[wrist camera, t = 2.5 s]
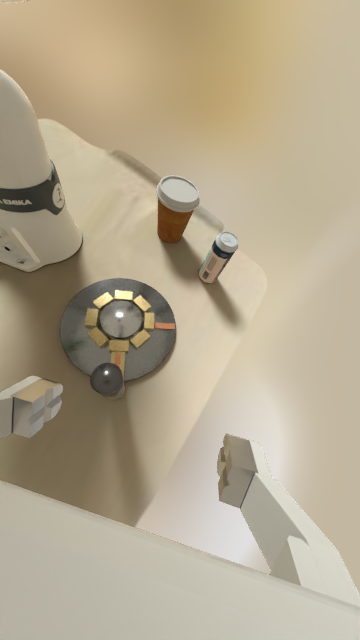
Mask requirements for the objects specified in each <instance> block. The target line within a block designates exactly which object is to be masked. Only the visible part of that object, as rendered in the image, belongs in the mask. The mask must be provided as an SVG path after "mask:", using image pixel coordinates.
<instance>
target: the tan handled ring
mask: <svg viewBox="0 0 360 640" xmlns="http://www.w3.org/2000/svg"><path fill="white" fill-rule="evenodd" d="M132 297H133V292H130V291H119V290H115V301H127V302H130V303H132ZM112 302H114V298H113V297H112V296H111V295H110V294H109V293H108V292H107V293H105V294H103V295H102V296H100V297H99V298H97V299H96V300H94V301H93V305H94V307H95V308H96V309H89V308H88V309H87V315H86V320H85V327H86V328H87V329H92V330H91V331H89V332H88V333H87V334H88V336H89V337H90V338H91V339H92V340H93V341H94V343H95V344H96V345H97V346H98V347H99V348H100V349H102V348H104V347H105V346H106V345H107V344H109V353H112V354H111V363H103V364H101V365H99V366H97V367H96V368H95V369H94V371H93V372H92V374H91V378H90V383H91V386H92V388H93V389H94V390H95V391H96V392H98V393H100V394H102V395H104V396H106V397H108V398H109V399H112V400H117V399H120V398H121V397H122V396H123V395H124V393H125V385H124V380H123V379H124V366H125V353H127V354H128V352H129V341H123V340H110V341H109V339H108V338H107V337H106V336H105V335H104V334H103V333H102V332H101V331H100V330H99V329H98V323H99V316H100V313H101V312H102V311H103V309H104V308H105V307H106V306H107V305H108V304H110V303H112ZM133 304H134V305H135V306H136V307H137V308H138V309H139V310H140V312H141V313H142V314H143V315H144V329H143V330H142V331H141V332H140V333H138V334H137V335H136V336H135V337H134V338H132V339H131V340H130V344H131V345H132V346H133V347H134V348H135V349H136V350H138V349H139V348H140V347H141V346H142V345H144V344H145V343H146V342H147V341H148V340H149V339H150V337H151V336H150V335H149V334H148V333H147V332H153V331H154V313H148V312H149V311H150V310H151V305H150V304H149V303H148V302H147V301H146V300H145V299H144V298H143V297H142V296H141V295H139V296H138V297H137V298H135V299H134V300H133Z"/></svg>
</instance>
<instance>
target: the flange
mask: <svg viewBox="0 0 360 640" xmlns="http://www.w3.org/2000/svg"><path fill="white" fill-rule="evenodd" d="M115 290H119V291H130V292H133V297H132V303H130V302H127V301H115ZM107 292H108V293H109V294H110V295H111V296H112V297H113V298H114V302H112V303H110V304H108V305H107V306H106V307H105V308H104V309H103V311H102V312H101V313H100V316H99V323H98V329H99V330H100V331H101V332H102V333H103V334H104V335H105V336H106V337H107V338H108V339H109V341H110V340H123V341H129V352H128V354H127V353H125V366H124V379H123V380H124V381H128V380H133V379H136V378H139V377H141V376H143V375H145V374H147V373H149V372H151V371H152V370H154V369H155V368H156V367H157V366H158V365H159V364H160V363H161V362H162V361H163V360H164V359H165V357H166V356H167V354H168V353H169V351H170V349H171V347H172V344H173V342H174V338H175V328H176V327H175V319H174V315H173V312H172V309H171V308H170V306H169V304H168V302H167V301H166V300H165V298H164V297H163V296H162V295H161V294H160V293H159V292H157V291H156V290H155V289H153V288H152V287H150V286H148V285H146V284H144V283H142V282H139V281H135V280H131V279H122V278H117V279H107V280H103V281H99V282H97V283H94V284H92V285H90V286H88V287H86V288H85V289H83V290H82V291H80V292H79V293H78V294H77V295H76V296H75V297H74V298H73V299H72V300H71V301H70V303H69V304H68V306H67V307H66V309H65V311H64V313H63V316H62V319H61V324H60V338H61V343H62V346H63V349H64V351H65V353H66V355H67V356H68V358H69V359H70V360H71V362H72V363H73V364H74V365H75V366H76V367H78V368H79V369H80V370H82V371H83V372H84V373H86V374H88V375H90V376H91V374H92V372H93V371H94V369H95V368H96V367H97V366H99V365H101V364H103V363H111V354H112V353H109V344H107V345H106V346H105V347H104V348H102V349H100V348H99V347H98V346H97V345H96V344H95V343H94V341H93V340H92V339H91V338H90V337H89V336H88V334H87V333H88V332H89V331H91V330H92V329H87V328H86V327H85V320H86V315H87V309H88V308H89V309H96V308H95V307H94V305H93V301H94V300H96V299H97V298H99V297H100V296H102V295H103V294H105V293H107ZM139 295H141V296H142V297H143V298H144V299H145V300H146V301H147V302H148V303H149V304H150V305H151V310H150V311H149V312H148V313H154V331H153V332H147V333H148V334H149V335H150V336H151V337H150V339H149V340H148V341H147V342H146V343H145V344H144V345H142V346H141V347H140V348H139V349H138V350H136V349H135V348H134V347H133V346H132V345H131V344H130V340H131V339H132V338H134V337H135V336H136V335H137V334H138V333H140V332H141V331H142V330H143V329H144V315H143V314H142V313H141V312H140V310H139V309H138V308H137V307H136V306H135V305H134V304H133V300H134V299H135V298H137V297H138V296H139Z"/></svg>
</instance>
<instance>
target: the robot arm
mask: <svg viewBox="0 0 360 640" xmlns="http://www.w3.org/2000/svg"><path fill="white" fill-rule="evenodd" d="M23 1H28V0H0V3H5V4H15V3H19V2H23ZM81 243H82V233H81V231H80V229H79V227H78V226H77V225H76V223H75V222H74V220H73V218H72V216H71V214H70V212H69V210H68V208H67V206H66V204H65V199H64V194H63V190H62V187H61V184H60V181H59V177H58V174H57V172H56V169H55V166H54V164H53V162H52V161H51V160H50V159H49V156H48V152H47V149H46V146H45V143H44V140H43V137H42V134H41V130H40V127H39V124H38V121H37V118H36V115H35V112H34V109H33V107H32V105H31V103H30V101H29V99H28V98H27V96H26V95H25V93H24V92H23V91H22V89H21V88H20V87H19V86H18V84H17V83H16V82H15V81H14V80H13V79H12V78H11V77H10V76H8V75H7V74H6V73H5V72H4V71H2V70H1V69H0V262H2V263H5V264H7V265H10V266H12V267H15V268H18V269H20V270H23V271H26V272H32V271H34V270H37V269H39V268H40V267H42V266H44V265H47V264H51V263H56V262H59V261H62V260H65V259H67V258H69V257H70V256H72V255H73V254H74V253H76V251H77V250H78V249H79V248H80V246H81ZM22 263H23V264H22ZM62 392H63V386H62V385H61V384H59V383H56V382H53V381H50V380H47V379H44V378H40V377H37V376H30V377H28V378H26V379H24V380H22V381H20V382H18V383H16V384H15V385H13V386H11V387H9V388H7V389H5V390H3V391H1V392H0V439H2V438H4V437H7V436H9V435H11V433H12V434H16V435H19V436H23V437H26V438H31V437H32V436H33V435H35V434H36V433H37V432H38V431H39V430H40V429H41V428H42V427H43V424H44V422H47V421H50V420H51V419H52V418H54V417H55V416H56V414H57V413H58V411H59V410H60V407H61V404H62V399H61V397H60V394H61V393H62ZM223 444H224V447H222V448H221V449H220V452H219V455H218V461H217V472H218V475H219V476H220V480H219V482H218V489H219V501H221V502H224V503H227V504H229V505H232V506H235V507H238V508H240V510H241V512H242V514H243V516H244V518H245V520H246V522H247V524H248V526H249V528H250V530H251V532H252V534H253V536H254V538H255V540H256V542H257V544H258V546H259V547H260V549H261V551H262V553H263V555H264V557H265V559H266V561H267V563H268V565H269V567H270V569H271V572H270V574H269V575H268V574H265V573H263V572H260V571H257V570H254V569H251V568H248V567H246V566H243V565H240V564H237V563H234V562H231V561H229V560H226V559H223V558H220V557H217V556H215V555H212V554H209V553H206V552H203V551H200V550H198V549H195V548H192V547H189V546H186V545H183V544H181V543H178V542H175V541H172V540H169V539H166V538H163V537H161V536H157V535H155V534H152V533H149V532H146V531H144V530H141V529H138V528H135V527H132V526H129V525H126V524H124V523H121V522H118V521H115V520H112V519H109V518H107V517H104V516H101V515H98V514H95V513H92V512H90V511H87V510H84V509H81V508H78V507H75V506H73V505H70V504H67V503H64V502H61V501H59V500H56V499H53V498H50V497H47V496H44V495H42V494H39V493H36V492H33V491H30V490H27V489H25V488H22V487H19V486H16V485H13V484H10V483H8V482H5V481H2V480H0V640H360V595H359V593H358V591H357V589H356V587H355V585H354V583H353V581H352V578H351V577H350V574H349V572H348V570H347V568H346V566H345V564H344V562H343V560H342V558H341V556H340V554H339V552H338V550H337V549H336V548H335V547H334V545H333V544H331V542H330V541H329V540H328V539H327V537H326V536H325V535H324V534H323V533H322V532H321V531H320V529H319V528H318V527H317V526H316V525H315V523H314V522H313V521H312V520H311V519H310V518H309V517H308V515H307V514H306V513H305V512H304V511H303V510H302V509H301V507H300V506H298V504H297V503H296V502H295V500H294V499H293V498H292V497H291V496H290V495H289V494H288V492H287V491H286V490H285V489H284V488H283V487H282V485H281V484H280V483H279V482H278V481H277V480H276V479H274V478H272V475H271V472H270V470H269V466H268V463H267V461H266V458H265V455H264V452H263V449H262V446H261V444H260V443H259V442H255V441H251V440H246V439H243V438H240V437H236V436H232V435H229V434H226V435H225V437H224V440H223Z"/></svg>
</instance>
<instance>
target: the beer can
mask: <svg viewBox="0 0 360 640" xmlns="http://www.w3.org/2000/svg"><path fill="white" fill-rule="evenodd" d="M237 248H238V240H237V237H236V236H235V235H234V234H232V233H229V232H222V233H221V234H219V235H218V236H217V237H216V239H215V241H214V243H213V245H212V247H211V249H210V251H209V253H208V255H207V257H206V259H205V261H204V263H203V265H202V267H201V269H200V270H199V277H200V278H201V280H202V281H204V282H206V283H214V282H215V281H216V280H217V278H218V276H219V275H220V273H221V272H222V270H223V269H224V267H225V266H226V264H227V263H228V261H229V260H230V258H231V257H232V255H233V254H234V252H235V251H236V250H237Z"/></svg>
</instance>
